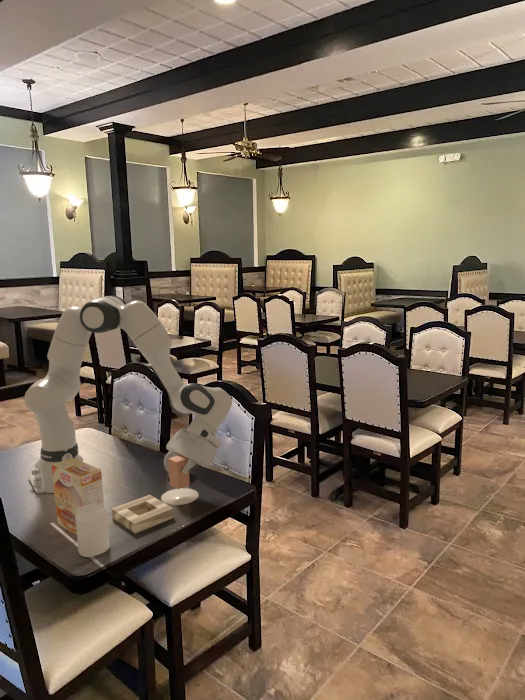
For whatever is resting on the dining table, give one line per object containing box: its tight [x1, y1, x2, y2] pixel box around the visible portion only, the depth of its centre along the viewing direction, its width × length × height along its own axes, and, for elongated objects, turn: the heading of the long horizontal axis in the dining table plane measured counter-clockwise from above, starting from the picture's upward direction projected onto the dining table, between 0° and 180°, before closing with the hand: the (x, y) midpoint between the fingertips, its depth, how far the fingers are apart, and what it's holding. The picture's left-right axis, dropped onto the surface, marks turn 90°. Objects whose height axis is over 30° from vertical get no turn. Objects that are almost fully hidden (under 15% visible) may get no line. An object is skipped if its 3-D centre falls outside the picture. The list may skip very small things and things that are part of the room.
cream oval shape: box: [160, 487, 200, 506], centre depth 173 cm, size 12×12×1 cm
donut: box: [163, 450, 173, 473], centre depth 192 cm, size 10×4×10 cm, turn 117°
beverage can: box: [75, 503, 111, 558], centre depth 143 cm, size 8×8×12 cm
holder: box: [111, 494, 175, 534], centre depth 159 cm, size 13×13×4 cm
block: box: [168, 455, 191, 489], centre depth 172 cm, size 4×4×9 cm
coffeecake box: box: [52, 458, 105, 536], centre depth 154 cm, size 15×7×20 cm, turn 51°
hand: (177, 470), depth 171 cm, fingers closed on block, 4 cm apart
